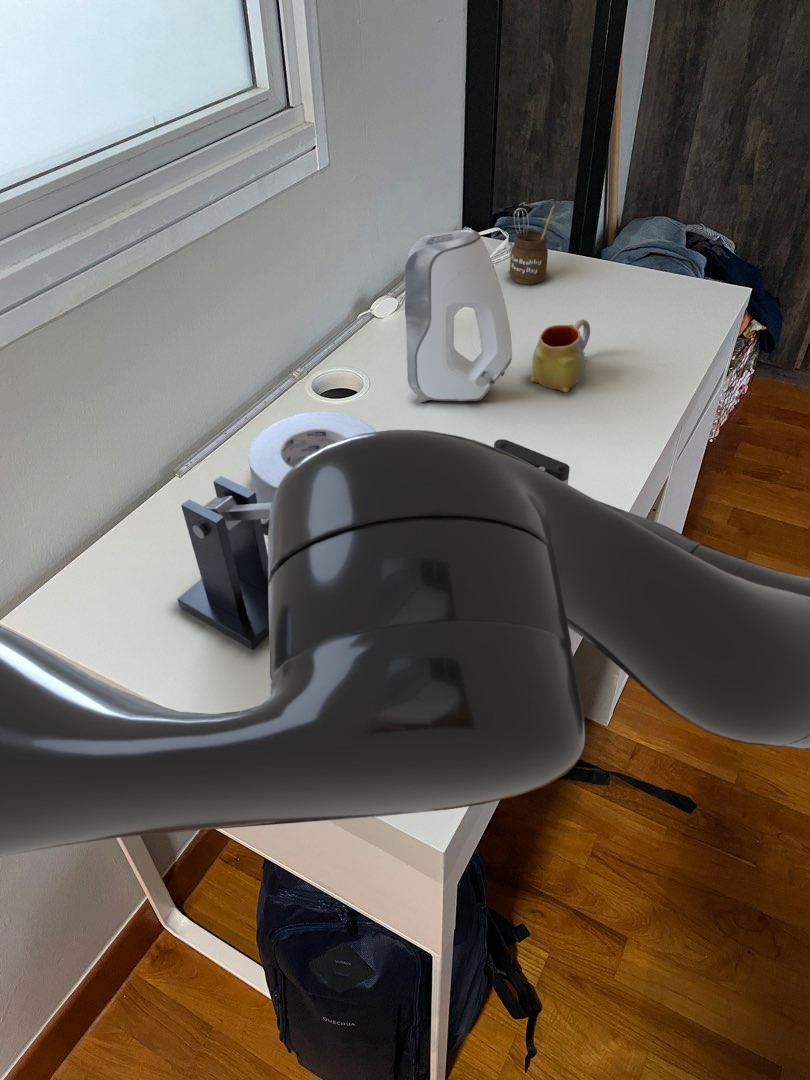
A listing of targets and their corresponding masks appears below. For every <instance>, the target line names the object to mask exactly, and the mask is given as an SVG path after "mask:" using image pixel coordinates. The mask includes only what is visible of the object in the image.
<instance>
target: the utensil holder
mask: <svg viewBox="0 0 810 1080" xmlns="http://www.w3.org/2000/svg"><path fill="white" fill-rule="evenodd" d="M555 206H556V204H553V206H552V207H551V209H550V212H549V215H548V217H547V219H546V221H545V225H544V229H543V231H541V230H538V229H530V228H529V226H530V222H529V213H527V211H525V213H526V216H527V217H526V218H527V227H526V229H522V230H521V227H520V226H521V225H520V223H517V226H518V229H519V231H518V230H517V227H516V226H514V228H515V230H516V233H515V235H514V237H513V246H512V247H511V249H510V250H511V251H510V260H509V277H510V279H511V280H512V281H513V282H515V283H516V284H519V285H530V286H531V285H537V284H540V283H542V282H543V281H544V280H545V278H546V275H547V268H548V257H549V256H548V254H549V251H548V250H549V249H548V247H547V243H548V238H547V237H548V236H547V235H546V231H547V229H548V226H549V225H550V223H551V219H552V216H553V212H554V209H555ZM517 210H518V211H522V212H521V213H522V214H521V215H522V216H525V214H524V211H523V210H525V207H524V208H523V207H518V208H517ZM516 214H517V215H516ZM519 215H520V212H517V211H514V212H513V222H514V223H513V224H514V225H516V220H519V218H520V216H519ZM516 216H517V219H515V217H516ZM526 218H525V217H523V223H522V224H525V222H526Z"/></svg>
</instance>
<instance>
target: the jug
mask: <svg viewBox="0 0 810 1080" xmlns="http://www.w3.org/2000/svg"><path fill="white" fill-rule="evenodd" d="M461 308H471V309H473V311H474V314H475V318H476V322H477V328H478V333H479V341H480V349H481V350H480V353H479V354H478V355H477V357H476V358H475V359H474V360H472V361H471V360H469V359H468V358H466V357H465V356H464V355H462V354H461V353H460V352H458V350H457V349H456V348H455V343H454V342H455V316H456V315H457V314H458V312H459V311H460V309H461ZM404 317H405V329H406V330H405V331H406V332H405V333H406V336H405V337H406V370H407V373H406V374H407V383H408V387H409V388H410V389H411V391H412V392H413V394H415V395H417V401H418V403H424V402H427V401H431V400H432V401H437V402H438V401H440V402H441V401H443V402H444V401H445V402H447V401H448V402H458V401H459V402H478V401H480V400H482V399H483V398H484V397H485V396H486V395H487V394H488V392H489V391H490V390H491V389H492V387H493V386H494V385H495V383H496V382H497V381H498V380H500V378H501V377H503V376H504V375H505V373H506V370H507V369H508V368H509V366H510V364H511V363H512V360H513V346H512V345H513V344H512V333H511V327H510V321H509V320H510V319H509V315H508V311H507V305H506V302H505V298H504V294H503V291H502V288H501V284H500V280H499V277H498V274H497V272H496V269H495V266H494V263H493V260H492V257H491V255H490V253H489V250H488V248H487V246H486V244H485V242H484V239H483V237H482V235H481V234H480V233H479V232H478V231H476V230H474V229H456V230H455V229H454V230H448V231H442V232H435V233H431V234H428V235H425V236H422V237H421V238H419V239H418V240H417V241H416V242H414V244H413V245H412V246H411V248H410V250H409V252H408V257H407V260H406V263H405V266H404Z"/></svg>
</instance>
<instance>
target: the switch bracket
mask: <svg viewBox="0 0 810 1080" xmlns="http://www.w3.org/2000/svg"><path fill="white" fill-rule="evenodd" d="M212 483H213V487H214V491H215V494H216V497H226V496H233V498H234V499H235V501H236V503H237V504H238V505H246V504H259V503H258V501H257V498H256V493H255V492H254V490H251V489H250V488H248V487H245V486H244V485H241V484H238V483H237V482H234V481H233V480H230V479H228V478H226V477H224V476H222V475H220V476H219V477H217V478H216V479H214V480H213V482H212ZM181 510H182V514H183V517H184V520H185V524H186V528H187V531H188V535H189V538H190V542H191V546H192V549H193V553H194V557H195V560H196V563H197V567H198V571H199V574H200V578H201V579H199V580H198V581H197V582H196V583H195V584H194V585H193V586H191V587H190V588H188V590H186V591H184V593H182V594H181V595H180V596H179V597H178V598H177V603H178V606H179V608H180V609H182V610H183V611H185V612H186V613H188V614H190V615H192V616H194V617H195V618H197V619H199V620H201V621H202V622H204V623H205V624H207V625H209V626H210V627H212V628H214V629H215V630H217V631H219V632H221V633H222V634H225V635H226V636H227V637H229V638H231V639H232V640H234V641H236V642H238V643H239V644H241V645H243V646H245V647H246V648H248V649H249V650H251V651H254V650H255V649H256V648H257V647H258V646H260V644H261V643H262V642H263V641H265V639H267V638H269V603H268V547H267V544H266V539H265V538H266V537H265V534H263V533H262V532H261V530H260V528H259V524H260V523H261V522H262V519H258V520H242V521H240V522H239V523H238V524H237V525H235V526H234V527H233V528H232V529H230V530H229V531H227V527H226V523H225V518H224V517H223V516H221V515H219V514H217V513H215V512H213V511H211V510H209V509H207V508H205V507H204V505H201V504H199V503H197V502H195V501H193V500H191V499H187V500H186V501H184V502H183V503H181Z"/></svg>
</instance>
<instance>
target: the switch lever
mask: <svg viewBox="0 0 810 1080" xmlns="http://www.w3.org/2000/svg"><path fill="white" fill-rule="evenodd" d="M271 504H272V503H258V504H246V505H238V504H237V503H236V501H235V499H234V498H233V496H226V497H217V496H216V497H214V498H212V500H209V502H207V503H206V504H204V505H203V507H205V508H207V509H209V510H211V511H213V512H215V513H217V514H219V515H221V516H223V517H224V518H225V523H226V527H227V531H229V530H230V529H232V528H233V527H234V526H235V525H237V524H238V523H239V522H240V521H242V520H258V519H261V520H263V521H261V523H260V524H259V528H260V530H261V532H262V533H263V534H264V536H267V537H268V527H269V513H270V508H271Z"/></svg>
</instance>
